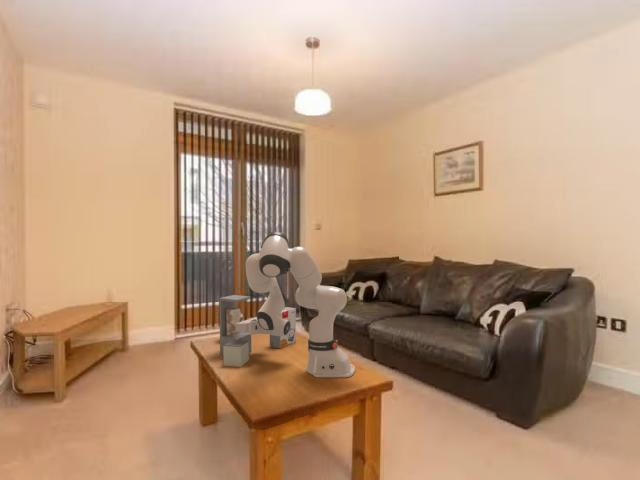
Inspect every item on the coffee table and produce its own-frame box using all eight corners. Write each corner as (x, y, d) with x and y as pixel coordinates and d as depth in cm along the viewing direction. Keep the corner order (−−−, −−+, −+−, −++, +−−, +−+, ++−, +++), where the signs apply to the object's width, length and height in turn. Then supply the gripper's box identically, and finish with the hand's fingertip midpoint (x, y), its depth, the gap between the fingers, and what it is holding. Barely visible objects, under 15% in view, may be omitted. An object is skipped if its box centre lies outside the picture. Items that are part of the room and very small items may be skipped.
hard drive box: (280, 349, 198) (279, 312, 197) (269, 346, 202) (268, 311, 201) (296, 341, 211) (296, 307, 210) (285, 339, 215) (285, 306, 215)
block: (240, 334, 194) (239, 308, 193) (233, 336, 189) (233, 309, 189) (233, 333, 196) (232, 307, 196) (226, 335, 192) (226, 309, 192)
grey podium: (251, 351, 194) (250, 296, 194) (237, 357, 184) (236, 299, 184) (234, 348, 200) (233, 294, 199) (220, 354, 190) (219, 298, 190)
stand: (248, 360, 180) (248, 340, 180) (241, 366, 171) (240, 346, 171) (232, 359, 182) (231, 339, 182) (223, 365, 173) (223, 345, 173)
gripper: (274, 314, 192) (253, 311, 198) (248, 322, 174) (227, 319, 180) (274, 326, 192) (253, 323, 198) (248, 335, 174) (227, 332, 181)
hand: (241, 321), depth 189 cm, fingers open, 8 cm apart
